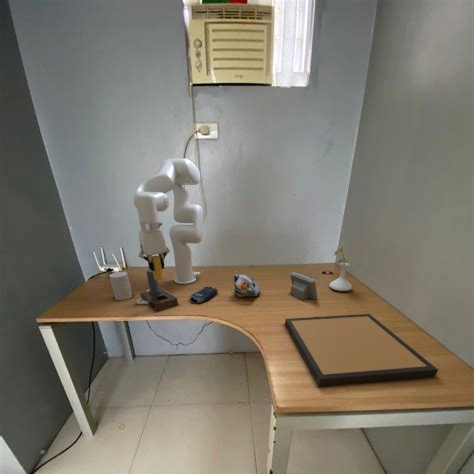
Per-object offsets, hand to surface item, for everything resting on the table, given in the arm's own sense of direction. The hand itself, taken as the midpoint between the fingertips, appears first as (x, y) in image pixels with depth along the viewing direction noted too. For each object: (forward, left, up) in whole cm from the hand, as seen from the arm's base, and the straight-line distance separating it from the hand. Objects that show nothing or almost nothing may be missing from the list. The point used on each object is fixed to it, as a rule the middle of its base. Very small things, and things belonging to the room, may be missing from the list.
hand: (157, 268), depth 113 cm
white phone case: (+2, -11, -16) cm, 19 cm away
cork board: (-33, +76, -18) cm, 85 cm away
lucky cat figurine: (-38, +18, -18) cm, 46 cm away
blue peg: (0, -7, -17) cm, 19 cm away
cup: (+11, -22, -18) cm, 30 cm away
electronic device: (-19, +6, -18) cm, 27 cm away
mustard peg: (0, 0, -5) cm, 5 cm away
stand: (0, -4, -17) cm, 18 cm away
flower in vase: (-80, +45, -18) cm, 93 cm away
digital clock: (-59, +37, -18) cm, 72 cm away
